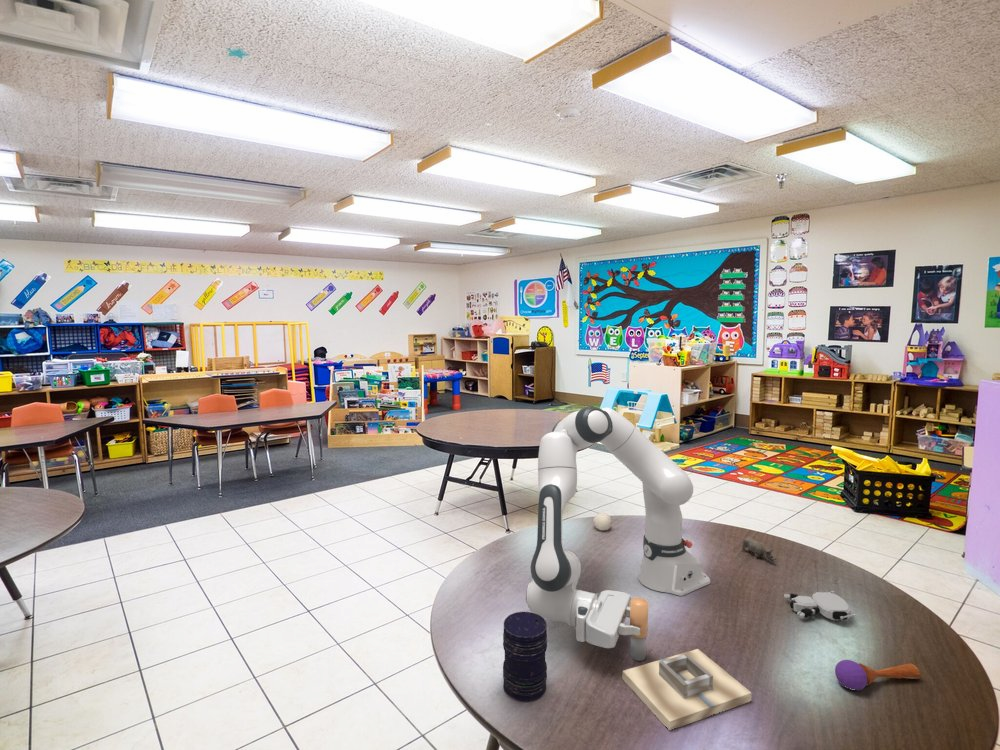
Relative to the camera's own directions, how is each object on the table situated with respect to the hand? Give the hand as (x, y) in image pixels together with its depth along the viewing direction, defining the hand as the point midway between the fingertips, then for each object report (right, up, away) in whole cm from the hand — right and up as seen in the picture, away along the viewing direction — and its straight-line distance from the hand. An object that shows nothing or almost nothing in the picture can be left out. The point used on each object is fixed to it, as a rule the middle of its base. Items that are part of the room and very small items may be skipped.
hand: (642, 624), depth 123 cm
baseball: (+6, -1, +79) cm, 79 cm away
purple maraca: (+52, -10, -7) cm, 53 cm away
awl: (-1, -8, +1) cm, 8 cm away
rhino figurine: (+56, -4, +54) cm, 78 cm away
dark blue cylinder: (-29, -10, -9) cm, 32 cm away
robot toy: (+56, -7, +20) cm, 60 cm away
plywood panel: (+7, -10, -10) cm, 15 cm away
